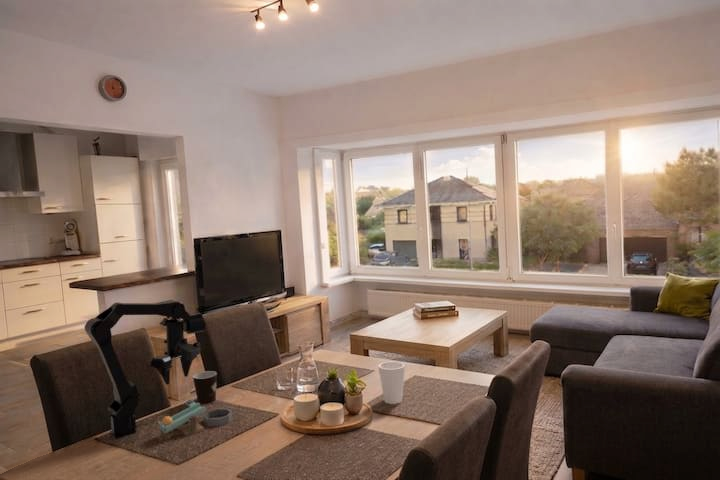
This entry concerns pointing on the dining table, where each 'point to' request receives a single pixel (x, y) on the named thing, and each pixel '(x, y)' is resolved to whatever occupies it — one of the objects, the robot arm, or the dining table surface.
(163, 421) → the ball
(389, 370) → the foam cup
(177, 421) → the lever
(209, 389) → the coffee mug
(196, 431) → the fulcrum
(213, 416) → the bowl
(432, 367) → the dining table surface
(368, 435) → the dining table surface
